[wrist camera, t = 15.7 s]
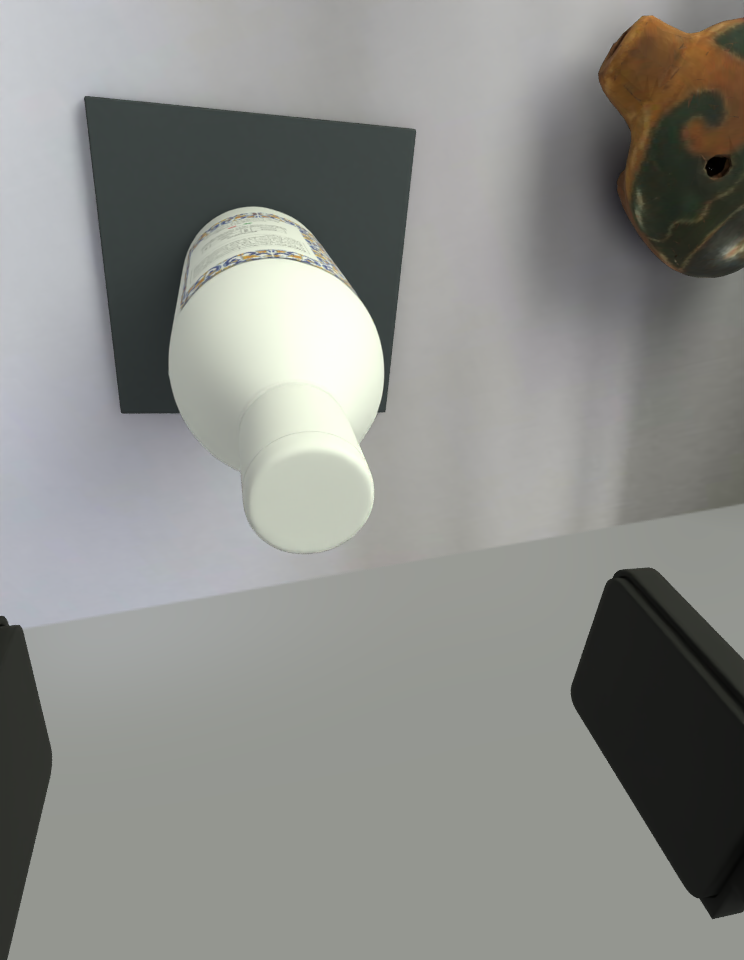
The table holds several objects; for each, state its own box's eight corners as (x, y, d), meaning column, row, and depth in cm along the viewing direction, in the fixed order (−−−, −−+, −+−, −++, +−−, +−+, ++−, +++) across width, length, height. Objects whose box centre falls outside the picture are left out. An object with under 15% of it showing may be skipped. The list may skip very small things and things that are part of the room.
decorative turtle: (707, 308, 37) (802, 356, 31) (510, 159, 32) (573, 177, 25) (841, 150, 34) (983, 164, 27) (644, -51, 28) (761, -97, 21)
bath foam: (306, 365, 33) (400, 637, 17) (170, 331, 31) (119, 606, 14) (347, 232, 30) (512, 398, 14) (199, 182, 28) (179, 308, 11)
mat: (383, 408, 36) (385, 412, 36) (122, 409, 33) (120, 414, 32) (413, 128, 29) (416, 129, 29) (86, 96, 26) (83, 95, 26)
